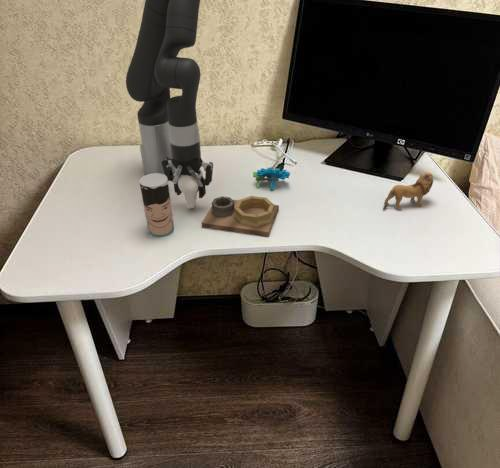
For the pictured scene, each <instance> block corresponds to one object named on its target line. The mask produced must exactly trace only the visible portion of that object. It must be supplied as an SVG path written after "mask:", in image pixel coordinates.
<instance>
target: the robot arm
mask: <svg viewBox="0 0 500 468" xmlns="http://www.w3.org/2000/svg"><path fill="white" fill-rule="evenodd" d="M200 4H201V0H145V1H144V6H143V12H142V17H141V23H140V27H139V30H138V35H137V39H136V45H135V49H134V51H133V54H132V57H131V60H130V63H129V66H128V70H127V73H126V75H125V76H126V77H125V88H126V90H127V93H128V95H129V96H130V98H131V99H132V100H133V101H136V102H139V103H141V102H143V104H142V106H140V108H139V109H138V111H137V121H138V126H139V133H140V138H141V144H140V146H139V150H140V155H141V163H142V167H143V173H144V175H148V174H152V173H160V174H164V175H166V176H167V179H168V182H172V183H173V189H174V193H175V194H176V195H177V196H181V194H183V193H182V192H181V190H180V189H179V187H178V179H179V177H180V176H181V175H189V176H192V177H193V178H194V180H195V181H196V182H197V183H198V185H199V187H198V198H199V199H203V197H205V195H206V194H207V189H206V186H207V187H208V186H209V185H210V184H211V183H212V181H213V172H214V171H213V170H214V163H213V162H211V161H210V162H205V161H203V160H202V151H201V142H200V129H199V125H198V117H197V109H196V107H197V105H196V104H197V98H198V97H197V96H198V90H199V86H200V82H201V69H200V66H199V64H198V62H197V61H196V60H195V59H193V58H189V57H179V56H178V55H179V53H180V51H181V50H184V49H189V48H192V47H194V46H195V44H196V40H197V33H198V22H199V13H200V11H199V10H200ZM171 89H177V90H181V95H176V96H173V97H171ZM201 168H202V169H203V171H204V172H205V173H203V171H202V170H201ZM203 174H205V176H204V175H203Z"/></svg>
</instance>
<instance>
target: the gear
mask: <svg viewBox="0 0 500 468" xmlns="http://www.w3.org/2000/svg"><path fill="white" fill-rule="evenodd" d="M252 173H253V174H252V177H253V178H255V182H256V188H257V189H260V182H267V181H268V182H269V181H270V188H269V189H270V191H274V190H275V181H278V180H285V179H289V178H290V176H291V172H289V171H288V170H287V169H282V170H281V169H280V167H276V168H275V169H273V168H272V167H267V169H266V168H263V167H262V168H260V169H258V170H256V171H253V172H252Z"/></svg>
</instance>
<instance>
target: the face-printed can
mask: <svg viewBox="0 0 500 468" xmlns="http://www.w3.org/2000/svg"><path fill="white" fill-rule="evenodd" d="M139 186H140V192H141V197H142V202H143V208H144V215H145V219H146V228H147V232H148V234H149V236H151V237H153V238H158V239H160V238H165V237H168V236H170V235H172V234H173V233H174V232H175V224H174V216H173V210H172V203H171V195H170V194H171V193H170V188H169V181H168V179H167V176H166V175H164V174H160V173H152V174H148V175H147V174H144V175H143V176H142V177H141V178H140V179H139Z"/></svg>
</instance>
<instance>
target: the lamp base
mask: <svg viewBox="0 0 500 468" xmlns="http://www.w3.org/2000/svg"><path fill="white" fill-rule="evenodd" d="M279 210H280V205H277V204H274V203H273V202H272V201H271V200H270V199H268V198H267V197H264V196H255V195H250V196H247V197H244V198H241V199H240V198H239V199H232V198H231V197H229V196H219V197H215V198H213V200H212V202H211V206H210V208H209V209H208V211H207V213H206V215H205V216H204V218H203V219H202V221H201V228H202V229H210V230H216V231H217V230H218V231H223V232H231V233H237V234H238V233H239V234H246V235H251V236H259V237H265V238H266V237H267V238H268V237H270V234H271V231H272V228H273V226H274V223H275V221H276V218H277V216H278V212H279Z"/></svg>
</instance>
